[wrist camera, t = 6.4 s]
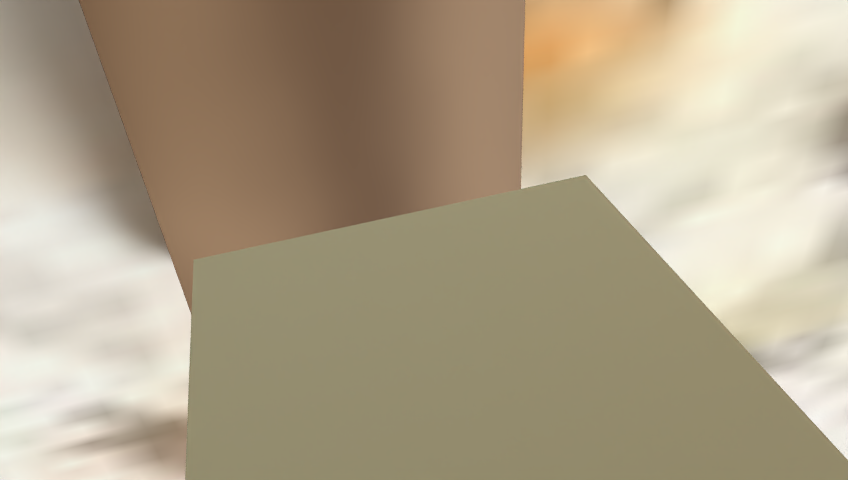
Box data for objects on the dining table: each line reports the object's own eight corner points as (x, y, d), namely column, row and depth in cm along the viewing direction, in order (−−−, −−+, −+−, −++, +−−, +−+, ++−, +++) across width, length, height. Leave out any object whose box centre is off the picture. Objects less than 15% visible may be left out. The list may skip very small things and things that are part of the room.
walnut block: (195, 252, 20) (193, 319, 18) (86, -77, 15) (62, -45, 12) (485, 196, 22) (519, 250, 19) (481, -122, 16) (527, -101, 14)
